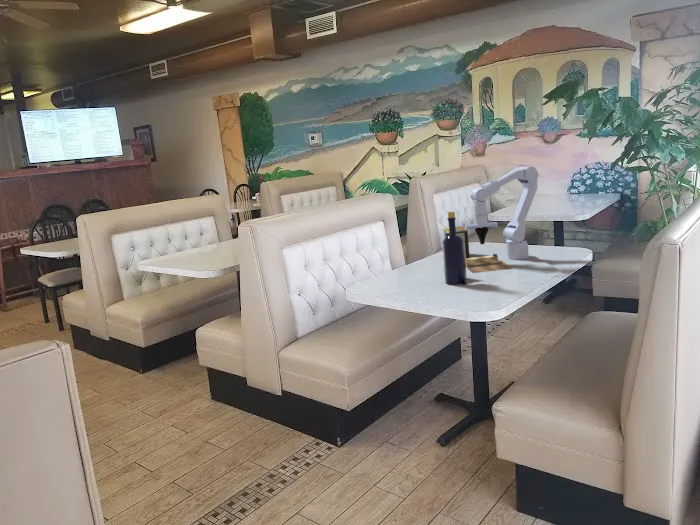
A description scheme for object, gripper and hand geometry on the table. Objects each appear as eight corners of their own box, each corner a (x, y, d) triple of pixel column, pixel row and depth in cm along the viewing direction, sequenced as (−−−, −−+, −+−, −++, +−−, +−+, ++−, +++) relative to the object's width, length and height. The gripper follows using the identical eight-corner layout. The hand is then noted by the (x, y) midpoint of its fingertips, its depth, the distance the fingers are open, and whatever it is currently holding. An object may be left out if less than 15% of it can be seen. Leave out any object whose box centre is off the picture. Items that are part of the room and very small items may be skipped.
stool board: (501, 262, 263) (501, 260, 262) (513, 271, 245) (513, 268, 245) (463, 267, 262) (463, 264, 262) (472, 275, 245) (472, 272, 245)
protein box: (466, 255, 286) (464, 225, 283) (470, 262, 271) (468, 230, 268) (446, 257, 287) (443, 227, 284) (448, 264, 272) (445, 232, 269)
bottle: (467, 284, 232) (462, 212, 225) (444, 285, 234) (439, 214, 227) (467, 278, 240) (462, 209, 234) (445, 280, 242) (440, 211, 236)
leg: (496, 261, 260) (496, 253, 259) (498, 262, 257) (497, 254, 256) (465, 264, 260) (464, 256, 259) (466, 266, 257) (466, 258, 256)
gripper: (493, 211, 260) (495, 240, 262) (462, 215, 260) (464, 244, 262) (498, 213, 253) (499, 243, 255) (466, 217, 253) (468, 246, 255)
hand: (482, 243), depth 258 cm, fingers closed
